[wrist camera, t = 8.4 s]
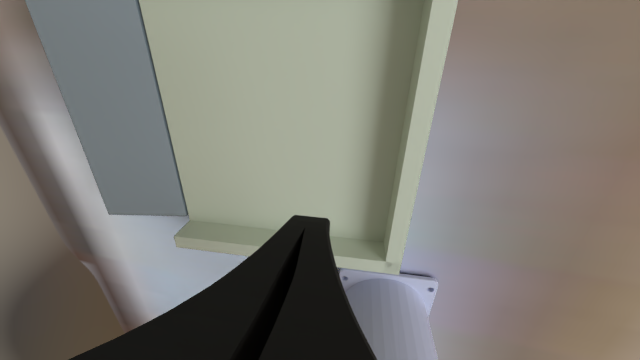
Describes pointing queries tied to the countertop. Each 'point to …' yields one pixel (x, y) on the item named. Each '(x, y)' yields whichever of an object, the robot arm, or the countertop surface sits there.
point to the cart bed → (300, 117)
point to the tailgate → (113, 101)
